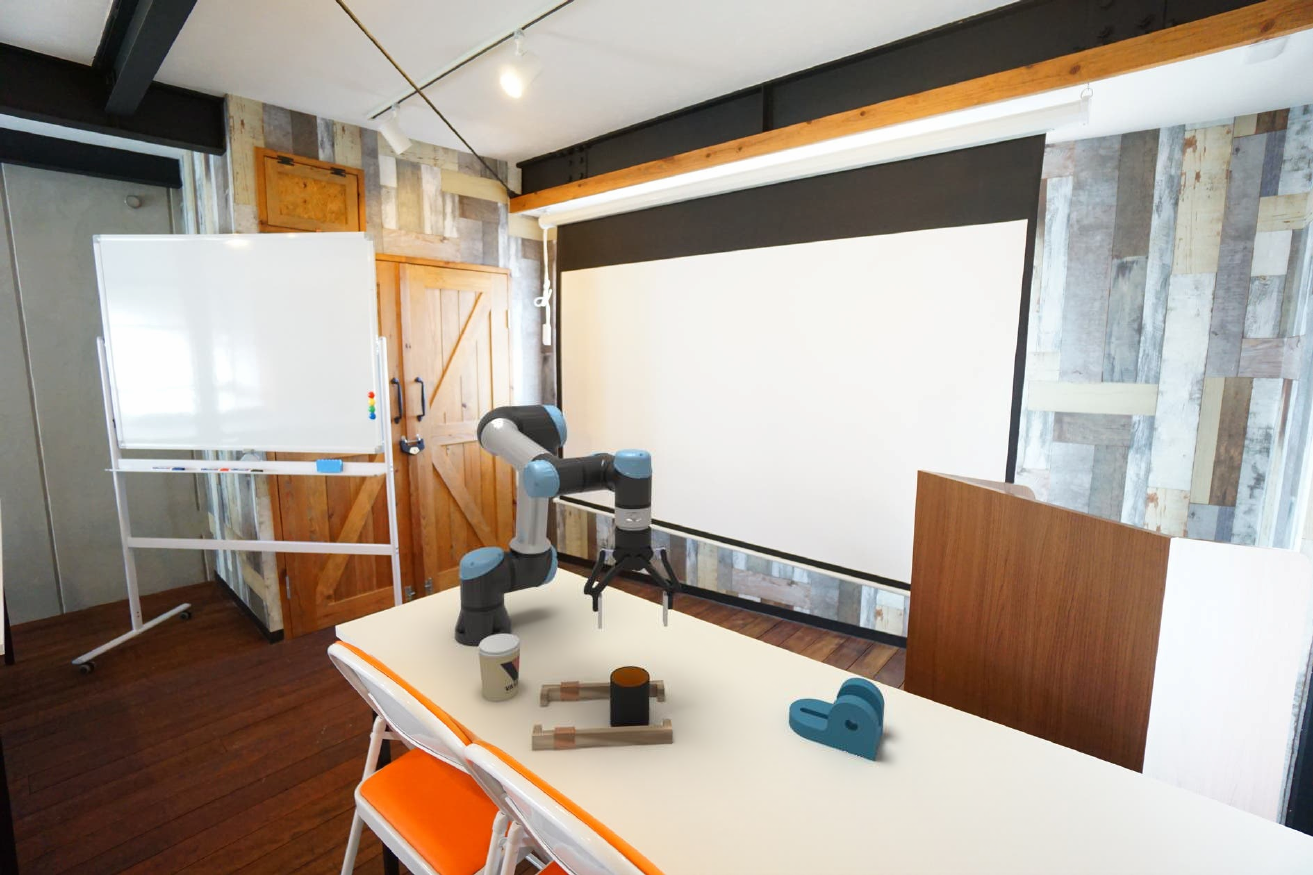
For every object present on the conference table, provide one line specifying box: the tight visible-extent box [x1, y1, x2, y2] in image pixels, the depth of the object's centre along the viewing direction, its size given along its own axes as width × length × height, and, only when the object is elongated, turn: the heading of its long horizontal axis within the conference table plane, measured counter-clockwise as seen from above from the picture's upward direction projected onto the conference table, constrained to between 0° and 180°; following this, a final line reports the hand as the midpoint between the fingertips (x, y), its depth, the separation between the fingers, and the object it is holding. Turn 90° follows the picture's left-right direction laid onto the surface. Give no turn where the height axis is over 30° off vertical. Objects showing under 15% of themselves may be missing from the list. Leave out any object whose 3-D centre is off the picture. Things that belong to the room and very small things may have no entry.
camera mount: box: [788, 677, 885, 762], centre depth 117 cm, size 18×10×10 cm, turn 60°
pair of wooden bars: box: [531, 679, 673, 751], centre depth 121 cm, size 18×28×3 cm
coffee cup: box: [477, 633, 521, 702], centre depth 130 cm, size 9×9×12 cm
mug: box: [609, 665, 651, 727], centre depth 121 cm, size 8×12×10 cm
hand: (632, 624), depth 119 cm, fingers open, 13 cm apart
